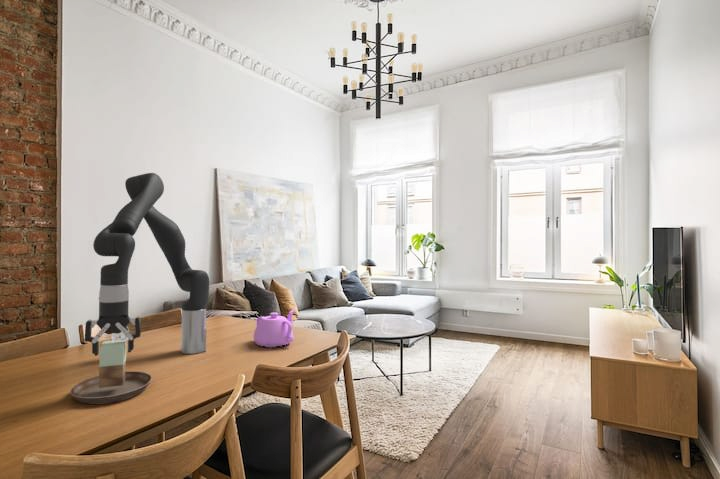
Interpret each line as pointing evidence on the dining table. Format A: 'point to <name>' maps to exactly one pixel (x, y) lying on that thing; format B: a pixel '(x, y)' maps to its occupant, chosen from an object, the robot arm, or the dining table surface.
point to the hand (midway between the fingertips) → (113, 353)
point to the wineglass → (118, 336)
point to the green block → (112, 353)
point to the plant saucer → (111, 389)
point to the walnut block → (112, 375)
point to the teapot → (274, 330)
